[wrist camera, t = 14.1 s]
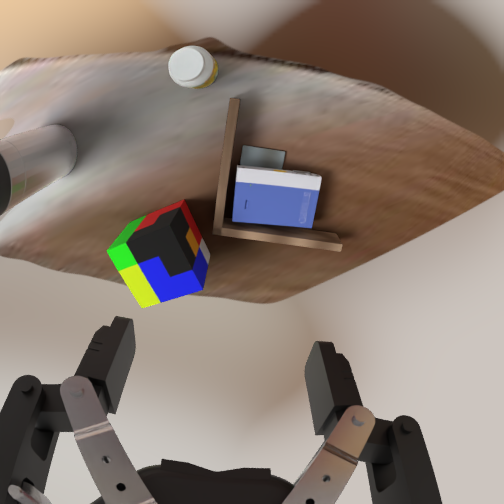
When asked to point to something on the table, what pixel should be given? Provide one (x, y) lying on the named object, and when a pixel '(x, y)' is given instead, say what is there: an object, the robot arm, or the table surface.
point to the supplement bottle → (193, 67)
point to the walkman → (275, 196)
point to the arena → (255, 230)
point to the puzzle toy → (161, 255)
